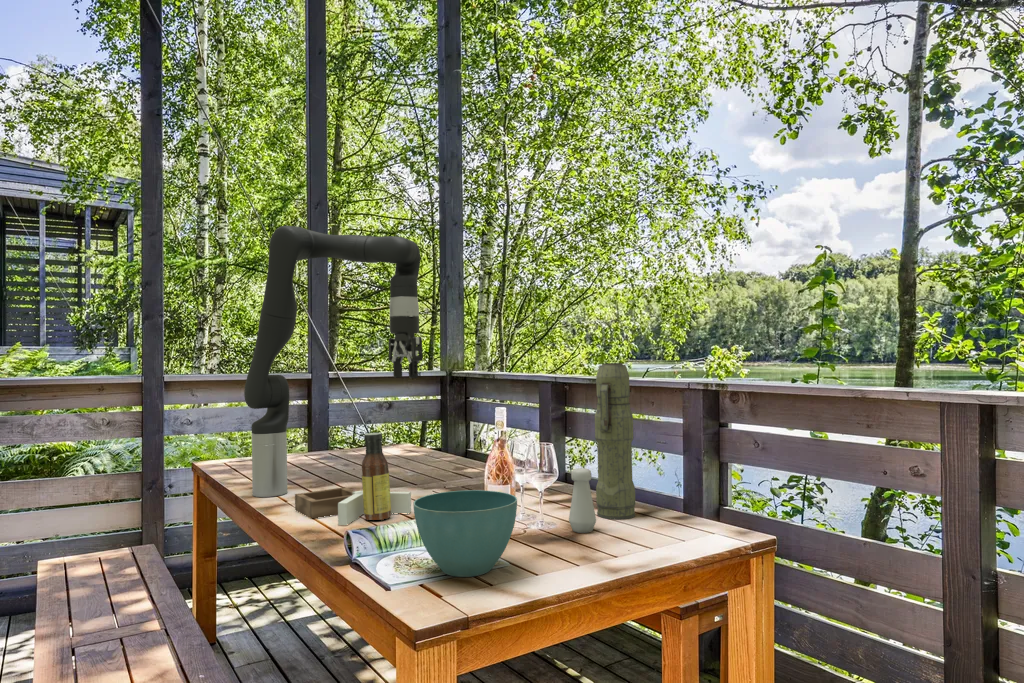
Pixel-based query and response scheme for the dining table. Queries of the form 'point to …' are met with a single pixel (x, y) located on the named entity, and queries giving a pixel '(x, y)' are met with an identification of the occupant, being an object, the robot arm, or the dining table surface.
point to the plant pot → (465, 529)
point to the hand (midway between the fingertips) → (405, 377)
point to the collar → (321, 502)
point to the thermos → (614, 443)
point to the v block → (355, 507)
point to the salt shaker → (582, 502)
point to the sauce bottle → (375, 480)
